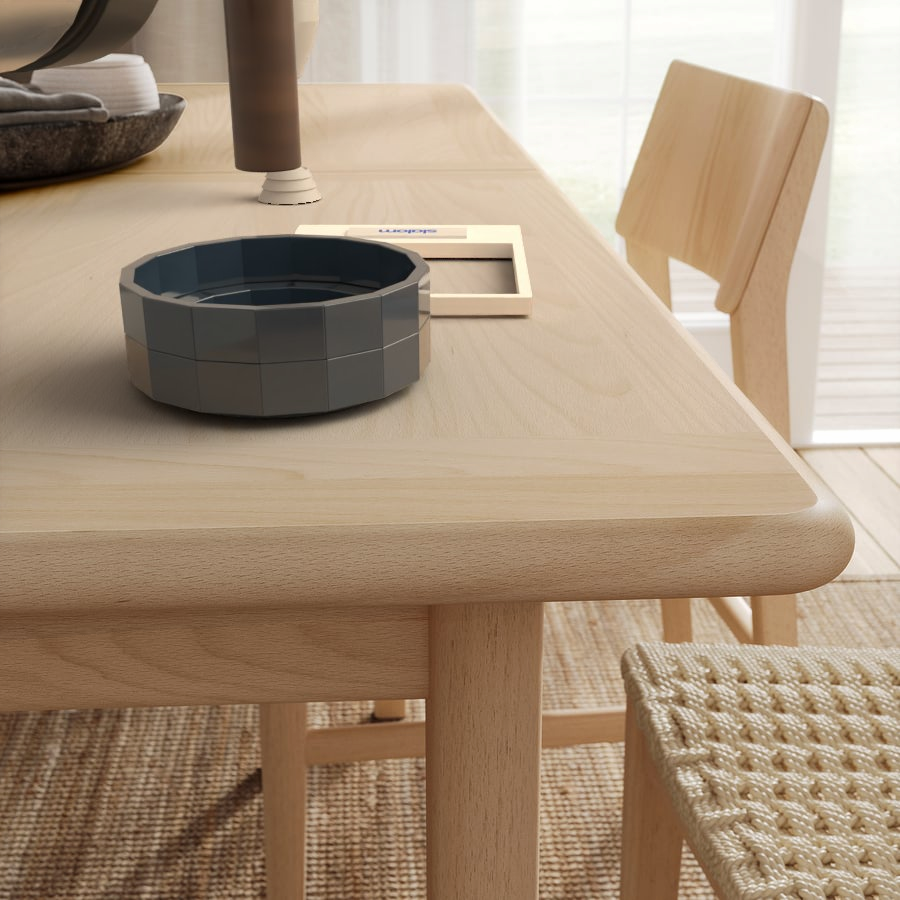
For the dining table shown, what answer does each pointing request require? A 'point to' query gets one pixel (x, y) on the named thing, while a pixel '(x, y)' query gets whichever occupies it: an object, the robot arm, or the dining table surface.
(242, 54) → the stirring stick
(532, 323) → the dining table surface
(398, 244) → the photo frame
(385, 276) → the bowl
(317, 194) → the chalice
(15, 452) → the dining table surface
